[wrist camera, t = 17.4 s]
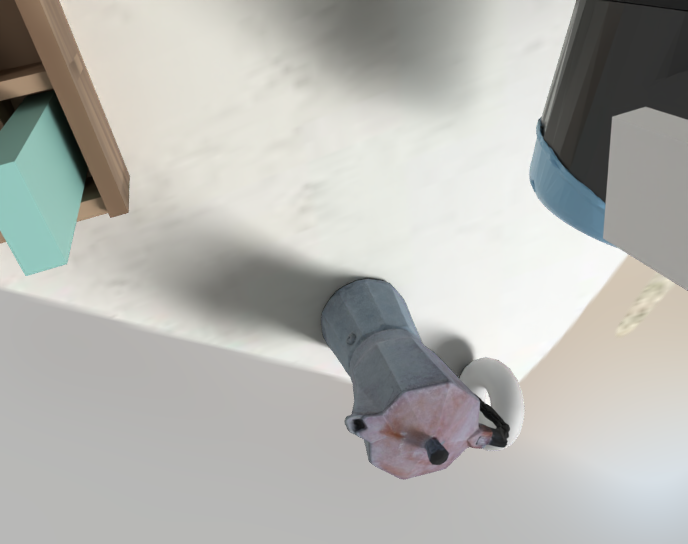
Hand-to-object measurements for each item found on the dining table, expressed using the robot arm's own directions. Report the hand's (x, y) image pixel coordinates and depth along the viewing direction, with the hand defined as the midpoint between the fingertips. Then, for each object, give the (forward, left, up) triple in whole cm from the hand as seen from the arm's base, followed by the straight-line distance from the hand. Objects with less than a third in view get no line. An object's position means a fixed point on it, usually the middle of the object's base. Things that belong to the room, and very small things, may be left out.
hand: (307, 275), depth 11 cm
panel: (+10, +4, -35) cm, 37 cm away
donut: (-20, +42, -37) cm, 59 cm away
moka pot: (-9, +29, -37) cm, 48 cm away
